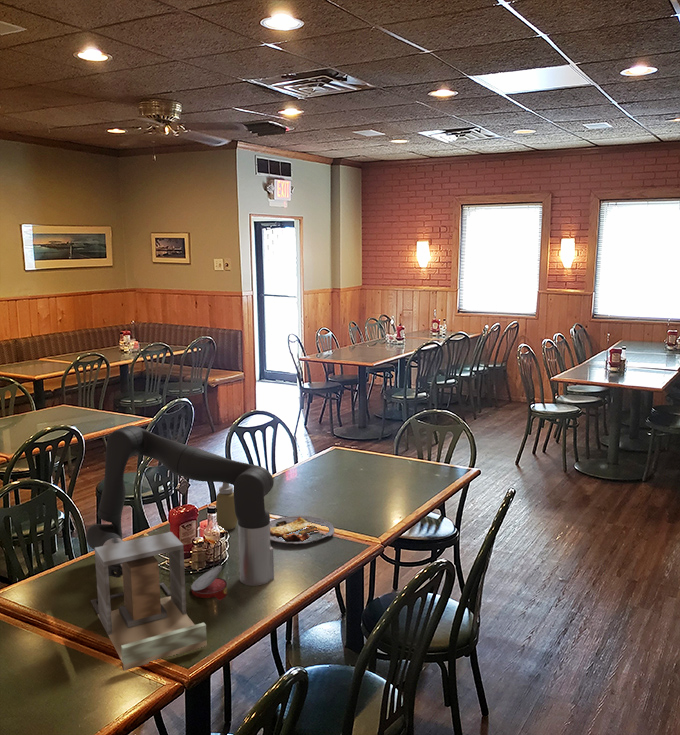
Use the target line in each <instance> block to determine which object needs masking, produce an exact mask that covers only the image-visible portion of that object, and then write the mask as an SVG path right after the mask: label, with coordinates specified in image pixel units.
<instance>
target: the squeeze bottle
mask: <svg viewBox="0 0 680 735" xmlns="http://www.w3.org/2000/svg"><path fill="white" fill-rule="evenodd" d="M216 509H217V521H216V523H217V522H218V524H217V526H218V525H219V526H221V527H222V528H224V529H225V530H224V531H227V530H232V529H235V528H236V527H237V525H238V519H237V517H236V514H235V506H234V486H233V485H230V484H228V483H223V482H222V485H221V486H220V487H219V488H218V493H217V495H216V503H215V510H216ZM219 526H218V527H219Z"/></svg>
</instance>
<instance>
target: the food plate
mask: <svg viewBox="0 0 680 735" xmlns="http://www.w3.org/2000/svg"><path fill="white" fill-rule="evenodd" d="M307 521H308V522H307ZM310 522H312V523H316V524H320V525H321V526H326V527H328V528H329V532H328V533H326V536H322V538H319V537H318V538H319V539H317V538H315V539H310V540H311V541H310V542H312V543H314V542H313V541H316V542H318V541H320V540H323V539H324V538H326V537H331V536H333V535H334V533H335V528H334V525H333V523H331V522H330V521H329V520H326V519H324V518H321V517H319V516H317V517H316V516H312V515H291V516H287V515H285V516H282V517H278V518H275V519H272V520H270V542H274V543H282V544H285V545H298V544H300V545H305V544H311V543H310V542H303V541H304V540H306V539H308V538H309V537H310V536H309V535H308V534H307V533H310V532H314V531H318V530H317V527H314V526H311V527H309V528H306V529H304V530H302V531H300V532H299V534H301V535H299V534H298V533H297V534H298V535H297V534H295V533H293V532H296V531H298V530H300V529H303V528H305V527H307V525H310V524H312V523H310ZM314 528H316V529H314ZM291 532H292V534H289V533H291ZM287 534H289V535H287ZM279 537H282V538H283V539H284V540H285V541H282V540H280V539H281V538H279ZM310 538H311V537H310Z"/></svg>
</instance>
